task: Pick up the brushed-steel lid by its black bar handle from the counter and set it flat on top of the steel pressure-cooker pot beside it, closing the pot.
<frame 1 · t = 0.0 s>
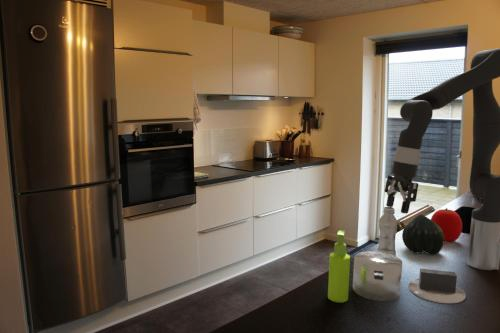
hand: (396, 209, 137), 22 cm above the countertop, tool pointing down, fingers open, 8 cm apart
plastic bottle: (385, 261, 152), on the countertop
soap dispenser: (338, 297, 123), on the countertop
cooker pot: (376, 290, 128), on the countertop
squash: (421, 252, 162), on the countertop
tomato: (444, 241, 176), on the countertop
cooker lid: (436, 292, 128), on the countertop
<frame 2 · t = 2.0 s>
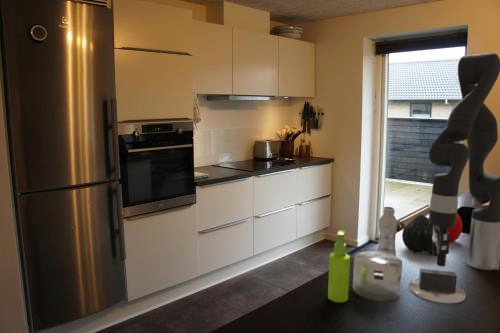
hand: (438, 260, 126), 10 cm above the countertop, tool pointing down, fingers open, 8 cm apart
nothing on the countertop moved.
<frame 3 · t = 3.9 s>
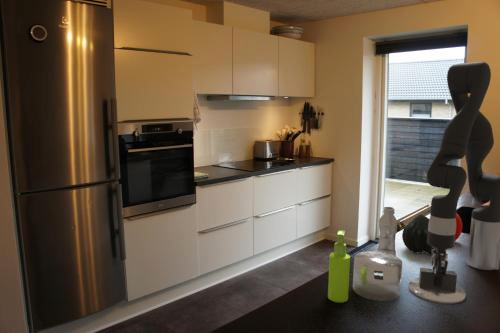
hand: (436, 284, 127), 2 cm above the countertop, tool pointing down, fingers closed on cooker lid, 3 cm apart
cooker lid: (436, 291, 128), on the countertop, touching gripper
everything else where it was.
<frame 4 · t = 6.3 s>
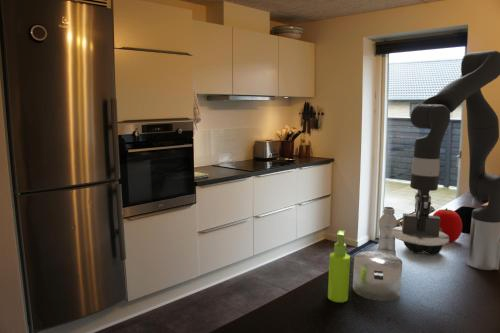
hand: (419, 229, 124), 20 cm above the countertop, tool pointing down, fingers closed on cooker lid, 3 cm apart
cooker lid: (419, 236, 125), point 17 cm above the countertop, touching gripper
everything else where it was.
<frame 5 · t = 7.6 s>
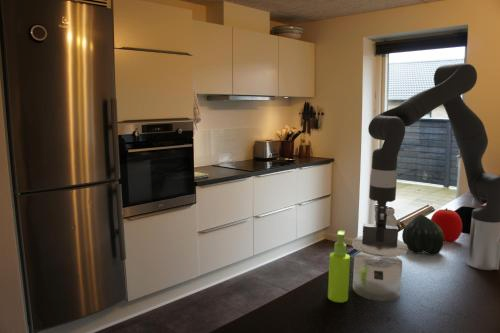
hand: (379, 239, 125), 16 cm above the countertop, tool pointing down, fingers closed on cooker lid, 3 cm apart
cooker lid: (379, 246, 126), point 14 cm above the countertop, touching gripper
everything else where it was.
when the fingers open (13 cm above the countertop, at t = 8.7 s): cooker lid drops 1 cm, resting on cooker pot.
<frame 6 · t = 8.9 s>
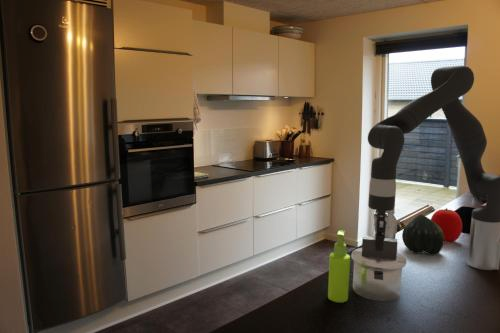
hand: (378, 247, 126), 14 cm above the countertop, tool pointing down, fingers open, 4 cm apart
cooker lid: (378, 259, 126), point 10 cm above the countertop, touching cooker pot
everything else where it was.
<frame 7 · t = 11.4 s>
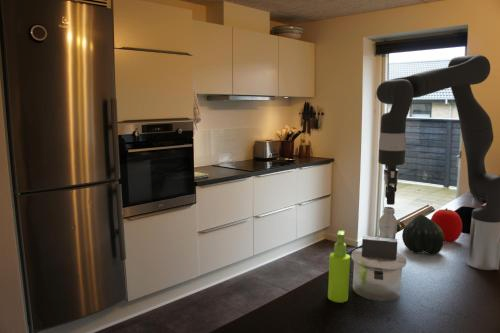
hand: (389, 201, 126), 28 cm above the countertop, tool pointing down, fingers open, 8 cm apart
nothing on the countertop moved.
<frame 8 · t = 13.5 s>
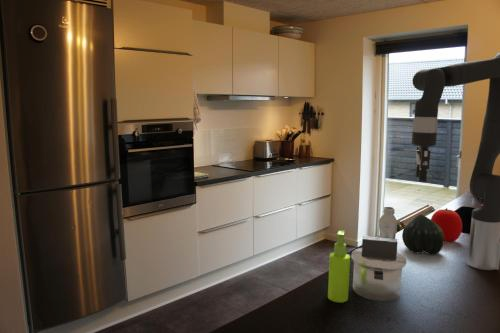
hand: (420, 179, 139), 32 cm above the countertop, tool pointing down, fingers open, 8 cm apart
nothing on the countertop moved.
at the end: cooker lid 0.1 cm off-centre on the cooker pot, point 10.0 cm above the cooker pot's base; cooker lid tilted 0°; the gripper is holding nothing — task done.
